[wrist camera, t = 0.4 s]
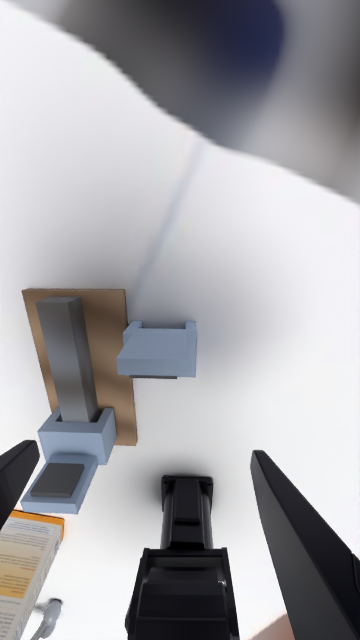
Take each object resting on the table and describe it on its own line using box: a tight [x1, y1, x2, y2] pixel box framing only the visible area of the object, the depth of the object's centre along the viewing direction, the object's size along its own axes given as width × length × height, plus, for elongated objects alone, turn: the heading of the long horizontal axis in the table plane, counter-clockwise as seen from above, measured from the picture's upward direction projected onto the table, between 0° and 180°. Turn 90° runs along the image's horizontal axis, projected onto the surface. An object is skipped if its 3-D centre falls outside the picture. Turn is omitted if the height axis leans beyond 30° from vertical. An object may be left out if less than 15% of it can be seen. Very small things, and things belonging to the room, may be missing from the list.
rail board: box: [22, 289, 137, 446], centre depth 20 cm, size 18×9×3 cm, turn 0°
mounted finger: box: [20, 407, 117, 514], centre depth 19 cm, size 4×6×7 cm, turn 90°
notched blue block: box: [116, 321, 197, 379], centre depth 17 cm, size 4×6×7 cm, turn 90°
